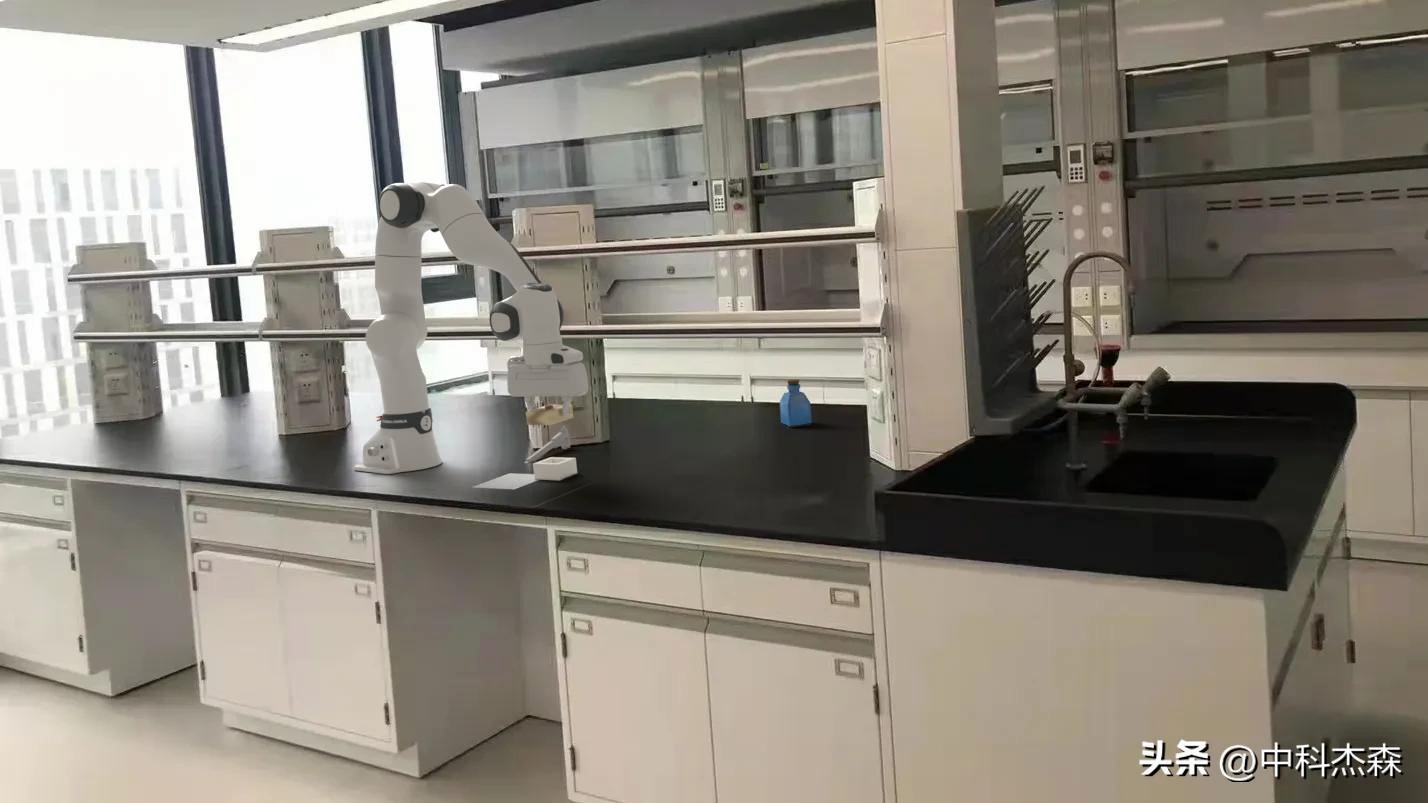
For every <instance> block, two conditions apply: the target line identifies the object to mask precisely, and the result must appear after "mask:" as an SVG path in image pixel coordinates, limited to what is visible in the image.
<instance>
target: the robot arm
mask: <svg viewBox="0 0 1428 803" xmlns="http://www.w3.org/2000/svg"><path fill="white" fill-rule="evenodd" d="M378 210H379V215H380V218H379V221H378V225H377V231H376V236H375V247H374V253H375V254H374V288H375V291H376V293H377V296H378V301H379V302H378V303H379V307H380V308H379V309H380V316H378V317H376V318H375V319H374V320H373V321H372V322H371V323H370V325H368V328H367V330H366V332H365V344H366V345H367V348H368V349H369V351H370V353H371V356H372V359H373V363H374V367H375V370H376V372H377V375H378V380H379V384H380V391H381V392H380V393H381V399H382V400H381V401H382V407H383V413H382V415H378V416H376V417H375V419H376V420H375V421H376V422H380V426H379V427H380V428H379V429H378V430H377V431H376V432H375V433H374V434H373V435H372V436H371V438H369V439H368V440H367V441H366V443H365V444H363V449H362V462H360V463H358V464H356V465H354V466H353V468H354V471H359V472H366V473H374V474H384V475H391V474H398V473H405V472H412V471H420V470H425V469H429V468H433V467H436V466H439V465H441V464H442V463H443V460H442V458H441V455H440V452H439V449H438V446H437V442H436V438H435V434H434V429H433V422H434V421H433V412H432V408H430V404H429V397H428V396H429V394H428V387H427V386H428V385H427V378H426V376H425V374H424V372H423V369H422V365H421V364H420V360H419V356H418V350H419V349H420V348H421V347H422V346H423V344H424V342H425V341H426V339H427V336H428V325H427V323H426V314H425V306H424V300H423V292H422V290H423V289H422V239H423V236H424V235H425V233H426V232H427V231H429V230H430V231H431V232H433V233H437V232H440V234H441V236H442V238H443V241H444V242H445V244H446V246H447V248H448V250H450V252H451V254H452V255H453V256H454V257H455V258H456V259H457V260H459V261H460V262H462V263H465V264H467V265H470V266H476V267H481V268H486V269H490V270H492V271H494V272H497V273H499V274H500V275H502V276H504V277H505V278H507V280H508V281H509V282H510V284H511V285H512V287H513V289H515V290H516V292H515V293H514V294H512V295H511V296H509V297H507V298H505V299H502V300H500V301H497V302H496V303H495V304H494V305H493V306H492V308H491V309H490V312H489V326H490V329H491V331H492V334H493V335H494V336H495V337H496V339H499V340H500V341H503V342H516V341H522V348H523V349H522V350H523V355H512V356H511V357H510V358H508V361H507V362H506V366H507V379H506V382H507V393H508V394H509V395H510V396H511V397H512V398H514V397H522V398H523V397H524V401H525V403H526V405H527V406H528V408H529V411H530V410H533V409H536V408H540V407H541V406H537V404H536V402H535V401H536V397H561V401H562V402H563V403H562V405H563V406H562V408H559V412H560V413H559V414H560V416H568V415H569V406H570V405H572V404H571V403H572V402H573V397H580V396H584V395H587V393H588V391H589V380H588V374H587V370H586V367H585V365H584V363H583V362H581V361H583V359H584V354H583V352H582V351H580V350H578V349H575V348H572V347H570V346H567V345H564V344H563V339H562V335H561V332H560V330H561V328H562V326H563V324H564V319H565V312H564V308H563V306H562V304H561V302H560V300H558V298H557V294H556V291H555V289H554V287H553V286H552V285H550V284H548V283H543V282H542V281H541V280H540V279H539V277H538V276H537V274H536V273H535V272H534V270H533V269H532V267H530V265H529V263H528V262H527V261H526V259H525V258H524V257H523V255H522V254H521V253H520V252H519V250H518V249H517V248H516V247H515V246H514V245H513V244H512V243H511V242H509V241H508V240H507V239H505V238H504V237H503V236H502V235H500V234H499V232H498V231H496V229H495V228H494V227H493V226H492V224H491V223H490V222H489V220H488V218H487V216H486V215H485V213H484V212H483V210H482V209H481V206H480V205H479V204H478V202H477V201H476V200H475V198H474V197H473V196H472V194H470V192H469V191H468V190H467V189H466V188H465V187H464V186H463V185H460V184H456V183H450V184H439V183H438V184H437V183H432V182H431V183H430V182H425V181H424V182H410V183H409V182H408V183H405V182H395V183H392V184H390V185H387V186H385V187H384V188H383V190H382V191H381V193H380V195H379V198H378Z"/></svg>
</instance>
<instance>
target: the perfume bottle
mask: <svg viewBox="0 0 1428 803" xmlns="http://www.w3.org/2000/svg"><path fill="white" fill-rule="evenodd" d="M786 389H787V390H788V392H784V393H783V394H782V397H781V398H780V399H779V400H780V401H779V410H780V411H779V412H780V424H781V423H783V424H786V425H788V426H793V425H801V424H807V423H812V411H811V402H810V400H809V398H808V396H806V393H805V392H802V391H800V389H801V384H800V379H788V380H787V385H786Z"/></svg>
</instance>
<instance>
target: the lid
mask: <svg viewBox="0 0 1428 803" xmlns="http://www.w3.org/2000/svg"><path fill="white" fill-rule="evenodd" d="M562 406H563V404H547V405H544V406H539V407H540V408H536V409H533V410H530V409H529V410H526V411H525V418H526V425H527V426H552V425H555V424H558V423H562V422H564V421H565V422H566V421H567V420H570V419H574V409H573V404H570V406H569V415H568V416H560V414H559V413H560V412H559V408H562Z"/></svg>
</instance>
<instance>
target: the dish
mask: <svg viewBox="0 0 1428 803" xmlns="http://www.w3.org/2000/svg"><path fill="white" fill-rule="evenodd" d="M577 466H578V465H577V458H576V457H562V456H561V457H559V456H558V457H556V456H551V457H547V458H544V459H542V460H539V461H537V462H536V461H535V462H534V463H532V468H533V474H534V479H540V480H539V481H545V480H546V481H562V480H564V479H568V478H569V477H572V476H574V475H577V474H578V468H577Z"/></svg>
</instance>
